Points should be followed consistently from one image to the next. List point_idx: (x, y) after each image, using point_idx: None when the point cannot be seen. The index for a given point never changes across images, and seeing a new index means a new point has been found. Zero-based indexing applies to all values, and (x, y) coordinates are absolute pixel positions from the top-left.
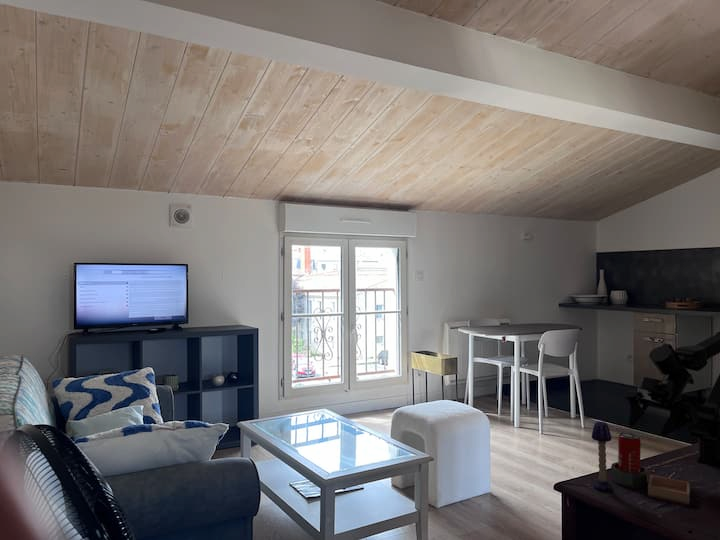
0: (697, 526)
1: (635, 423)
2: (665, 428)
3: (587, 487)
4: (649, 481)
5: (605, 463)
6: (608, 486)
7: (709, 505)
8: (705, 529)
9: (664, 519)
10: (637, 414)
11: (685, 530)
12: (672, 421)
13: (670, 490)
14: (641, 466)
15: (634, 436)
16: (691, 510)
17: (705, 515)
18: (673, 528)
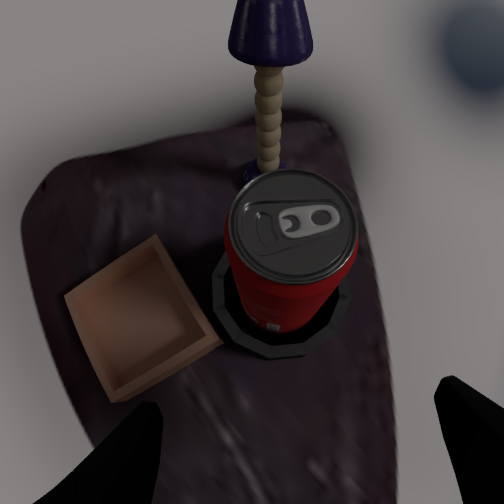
0: (38, 214)
1: (447, 444)
2: (110, 436)
3: (291, 155)
4: (177, 275)
5: (257, 126)
6: (246, 171)
7: (56, 349)
8: (28, 217)
9: (85, 180)
10: (492, 489)
11: (49, 181)
12: (50, 496)
13: (103, 270)
14: (271, 350)
15: (276, 251)
16: (65, 275)
17: (41, 279)
18: (64, 168)
